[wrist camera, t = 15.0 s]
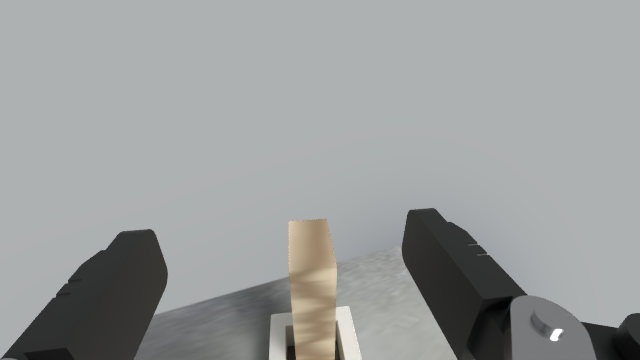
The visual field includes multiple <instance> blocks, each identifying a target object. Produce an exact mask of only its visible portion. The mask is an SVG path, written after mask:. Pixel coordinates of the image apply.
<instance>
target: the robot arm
mask: <svg viewBox="0 0 640 360" xmlns="http://www.w3.org/2000/svg"><path fill="white" fill-rule="evenodd" d="M402 256H403V260H404V263H405V265H406V267H407V269H408V271H409V272H410V274H411V276H412V278H413V280H414V281H415V283H416V285H417V287H418V289H419V290H420V292H421V294H422V296H423V298H424V299H425V301H426V303H427V305H428V307H429V309H430V310H431V312H432V314H433V316H434V318H435V319H436V321H437V323H438V325H439V327H440V328H441V330H442V332H443V334H444V336H445V337H446V339H447V341H448V343H449V345H450V346H451V348H452V350H453V352H454V354H455V355H456V357H457V359H458V360H640V313H635V314H631V315H629V316H627V318H625V320H624V321H623V322H622V324H621V325H620V326H619V328H614V327H608V326H603V325H596V324H590V323H585V322H580V321H579V320H578V319H577V318H576V317H575V316H573V315H572V314H571V313H570V312H568V311H567V310H566V309H564V308H562V307H561V306H559V305H557V304H555V303H553V302H551V301H549V300H546V299H544V298H540V297H536V296H528V295H527V294H526V293H525V292H524V291H523V290H522V289H521V288H520V287H519V286H518V285H517V284H516V283H515V282H514V280H513V279H512V278H511V277H510V276H509V275H508V274H507V273H506V272H505V271H504V270H503V269H502V268H501V267H500V266H499V265H498V264H497V263H496V262H495V261H494V260H493V259H492V257H490V255H487V252H486V251H485V250H484V249H483V248H482V247H481V246H480V245H478V244H477V242H476V241H475V240H474V239H473V238H472V237H471V236H470V235H469V234H468V232H467V231H465V230H463V229H462V228H460V227H458V226H457V225H455V224H454V223H451V222H447V221H446V220H445V219H444V218H443V217H442V216H441V215H440V214H439V213H438V211H437V210H436V209H434V208H428V209H417V210H416V209H415V210H410V211H409V212H408V215H407V221H406V226H405V231H404V237H403V243H402ZM167 276H168V272H167V267H166V264H165V261H164V258H163V255H162V252H161V249H160V246H159V243H158V240H157V237H156V235H155V233H154V231H152V230H151V229H147V230H134V231H123V232H120V233H119V234H118V235H117V236H116V238H115V239H114V240H113V242H112V243H111V244H110V245H109V246H108V248H107V249H106V250H102V251H100V252H98V253H97V254H96V255H94V256H93V257H91V258H90V259H89V260H87V261H86V262H84V263H83V264H82V265H81V266H80V267H79V268H78V269H77V271H76V272H75V273H74V274H73V275H72V276H71V278H70V279H69V280H68V284H65V285H64V286H63V287H62V288H61V289H60V291H59V292H58V293H57V294H56V298H53V299H52V300H51V301H50V302H49V303H48V304H47V306H46V307H45V308H44V309H43V310H42V311H41V313H40V314H39V315H38V316H37V317H36V318H35V320H34V321H33V322H32V323H31V324H30V325H29V327H28V328H27V329H26V330H25V332H23V334H22V335H21V336H20V337H19V338H18V339H17V341H16V342H15V343H14V344H13V345H12V346H11V348H10V349H9V350H8V351H7V352H6V353H5V355H4V356H3V357H2V358H1V359H0V360H133V359H134V357H135V355H136V353H137V351H138V348H139V346H140V344H141V342H142V339H143V337H144V335H145V333H146V330H147V328H148V326H149V324H150V321H151V319H152V317H153V315H154V312H155V310H156V308H157V305H158V303H159V301H160V299H161V297H162V294H163V292H164V290H165V287H166V284H167Z"/></svg>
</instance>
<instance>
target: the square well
mask: <svg viewBox="0 0 640 360" xmlns="http://www.w3.org/2000/svg"><path fill="white" fill-rule="evenodd" d="M335 341H337V343H338V349H339V355H340V360H362V358H361V354H360V350H359V346H358V342H357V338H356V333H355V329H354V325H353V321H352V317H351V313H350V309H349V306H344V307H336V325H335ZM288 346H295V341H294V328H293V316H292V312H289V313H279V314H271V326H270V347H269V360H288Z"/></svg>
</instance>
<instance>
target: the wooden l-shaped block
mask: <svg viewBox="0 0 640 360" xmlns="http://www.w3.org/2000/svg"><path fill="white" fill-rule="evenodd" d="M336 276H337V265H336V261H335V256H334V252H333V247H332V242H331V238H330V233H329V228H328V224H327V219H318V220H302V221H289V280H290V292H291V304H292V316H293V328H294V341H295V353H296V360H335V325H336Z"/></svg>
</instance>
